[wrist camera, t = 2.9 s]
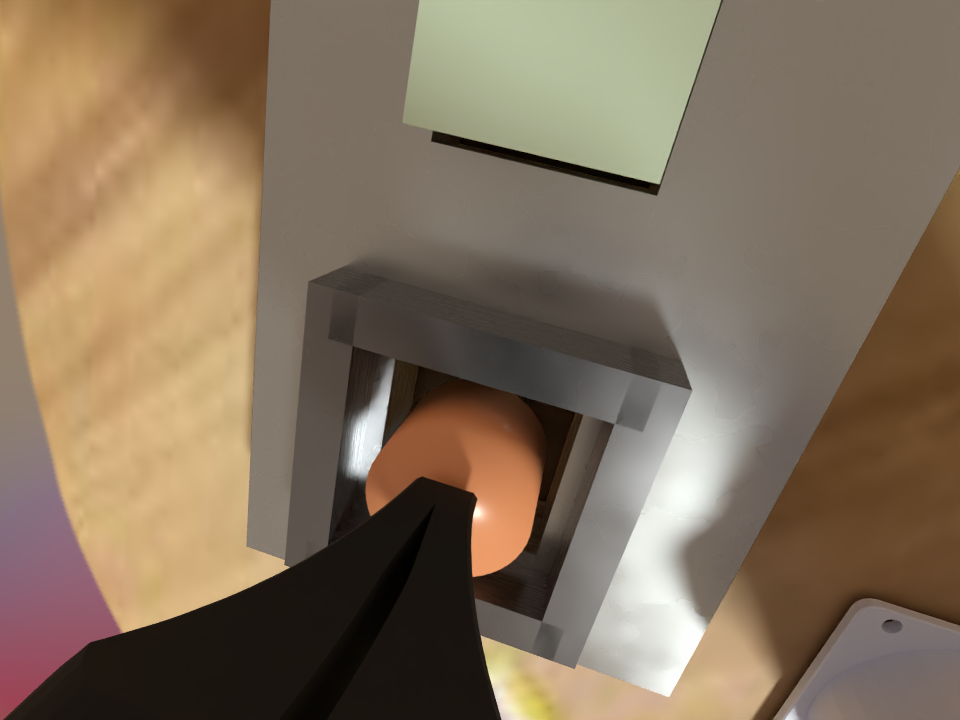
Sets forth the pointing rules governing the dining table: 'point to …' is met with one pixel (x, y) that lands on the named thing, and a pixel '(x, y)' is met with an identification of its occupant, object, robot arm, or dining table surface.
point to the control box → (592, 299)
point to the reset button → (470, 463)
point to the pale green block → (560, 76)
